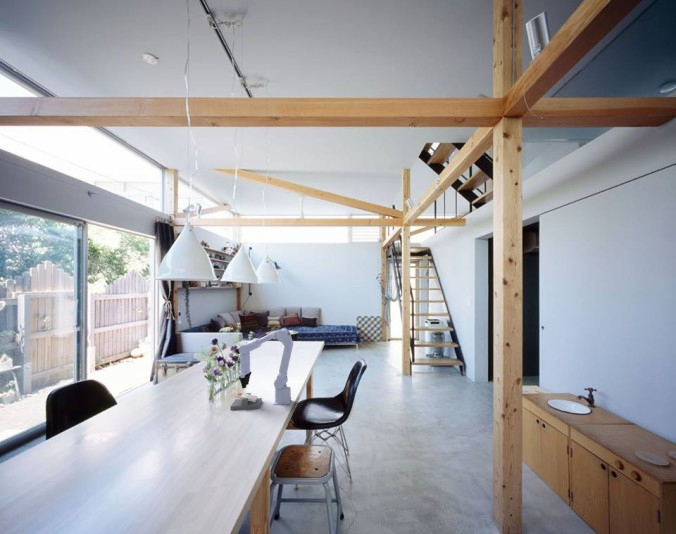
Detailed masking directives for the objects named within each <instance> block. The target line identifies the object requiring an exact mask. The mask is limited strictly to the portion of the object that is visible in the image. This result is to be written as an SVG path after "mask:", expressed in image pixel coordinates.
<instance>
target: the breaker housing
mask: <svg viewBox="0 0 676 534" xmlns="http://www.w3.org/2000/svg"><path fill="white" fill-rule="evenodd" d="M245 394H249V395H252V393H251V392H246V393H245ZM262 403H263V398H262V397H260V398H259V397H257V400H256V402H252V401H248V398H243V399H239V398H236V399H234V400H233V402H232V403H231V405H230V411H236V410H237V411H238V410H257V409H260V407H261V405H262Z"/></svg>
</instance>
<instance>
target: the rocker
mask: <svg viewBox="0 0 676 534" xmlns="http://www.w3.org/2000/svg"><path fill="white" fill-rule="evenodd" d="M235 398H236V399H243V398H248V401H252V402H256V400H257V398H259V397H258V396H257V395H254V394H251V395H249V394H246V393H244V392H241V391H240V392H239V391H237V393H236V394H235Z"/></svg>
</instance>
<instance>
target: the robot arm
mask: <svg viewBox="0 0 676 534" xmlns="http://www.w3.org/2000/svg"><path fill="white" fill-rule="evenodd" d="M270 340H275V341H276V340H277V341H278V342H281V343H282V345H283V346H284V347H283V351H282V355H281V356H282V357H281V361H280V366H279V370H278V373H277V375H276V379H275V380H274V381H273V386H274V396H275V397H274V398H275V399H274V402H273V406H280V405H291V400H292V397H291V394H292V393H291V386H288V385H287V383H288V371H289V370H288V369H289V365H290V361H291V356H292V352H293V348H294V347H293V346H294V341H293V339H292V335H291V332H290V331H289V329H288V328H286V327H283V328H280V329H278V330H274V331H272V332H269V333H268V334H266V335H265V336H263V337H261V338H258V337H257V338H255V337H254V338H252V339H251V340H250V341H246V342H245V343H243V344H241V345H240V347H239V348H238V352H239V354H240V357H239V360H240V361H239V362H240V363H239V365H240V370H238V374H240V375H239V376H238V380H239V381H240V384H241V389H247V386H248V385H249V384H250V383H249V382H250V378H251V376H252V373H253V372H252V371H251V356H250V355H251V353H250V352H252V351H254V350H256V349H258V348H260V347H261V346H262V345H263V343H266V342H268V341H270Z"/></svg>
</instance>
